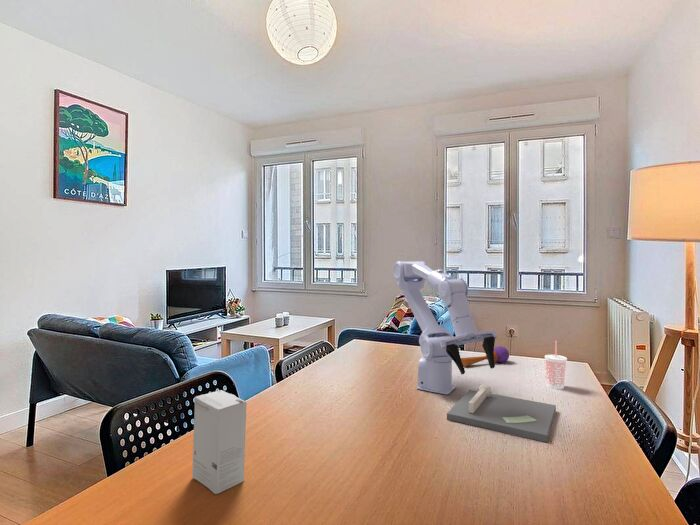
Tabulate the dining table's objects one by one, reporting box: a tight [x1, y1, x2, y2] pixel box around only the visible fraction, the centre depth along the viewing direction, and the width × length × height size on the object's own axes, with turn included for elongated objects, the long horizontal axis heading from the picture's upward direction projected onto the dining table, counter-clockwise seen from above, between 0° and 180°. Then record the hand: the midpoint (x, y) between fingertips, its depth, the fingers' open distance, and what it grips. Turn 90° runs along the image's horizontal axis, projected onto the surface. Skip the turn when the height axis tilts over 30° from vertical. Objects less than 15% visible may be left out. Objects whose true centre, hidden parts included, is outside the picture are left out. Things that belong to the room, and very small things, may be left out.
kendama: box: [460, 345, 510, 368], centre depth 148 cm, size 6×6×20 cm
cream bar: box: [468, 384, 492, 413], centre depth 106 cm, size 16×3×2 cm, turn 148°
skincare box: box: [191, 389, 247, 495], centre depth 73 cm, size 8×6×15 cm
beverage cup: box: [544, 340, 568, 390], centre depth 123 cm, size 6×6×14 cm
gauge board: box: [446, 389, 557, 443], centre depth 102 cm, size 22×20×2 cm
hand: (478, 370), depth 104 cm, fingers open, 7 cm apart
